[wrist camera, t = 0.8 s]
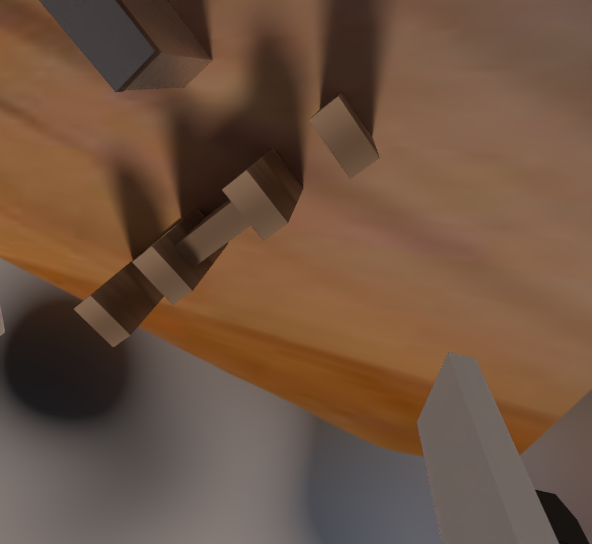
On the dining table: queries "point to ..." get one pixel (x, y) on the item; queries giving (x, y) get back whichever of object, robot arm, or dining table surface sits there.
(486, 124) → the dining table surface
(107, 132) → the dining table surface
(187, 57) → the bracket plate
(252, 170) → the brown long notched block
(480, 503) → the robot arm
